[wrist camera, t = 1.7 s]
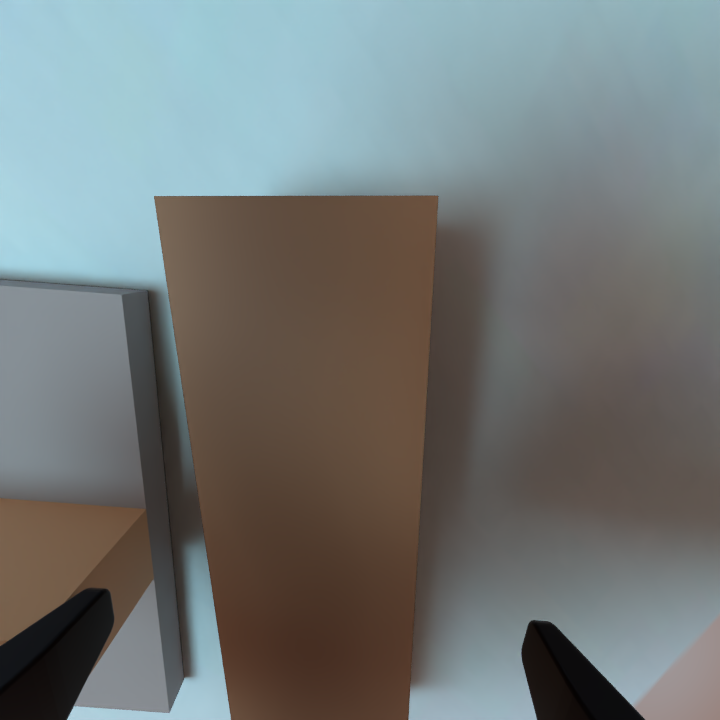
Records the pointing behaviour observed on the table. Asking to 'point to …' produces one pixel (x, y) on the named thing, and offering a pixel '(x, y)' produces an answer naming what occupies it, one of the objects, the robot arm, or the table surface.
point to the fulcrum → (87, 481)
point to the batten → (307, 437)
